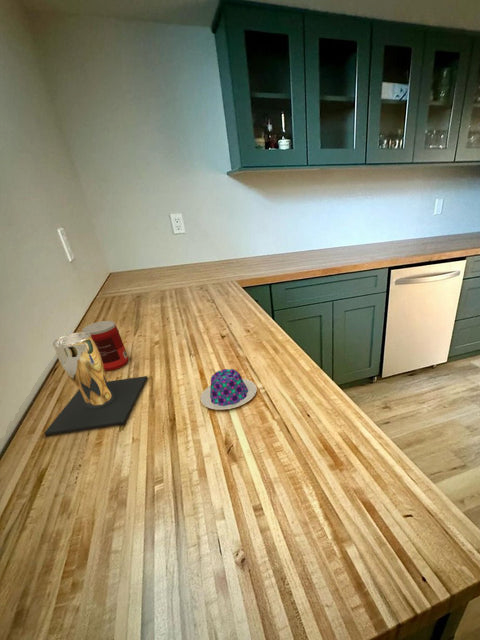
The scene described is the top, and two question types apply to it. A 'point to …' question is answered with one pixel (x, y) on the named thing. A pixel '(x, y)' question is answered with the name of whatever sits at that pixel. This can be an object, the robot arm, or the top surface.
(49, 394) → the top surface
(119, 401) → the place mat
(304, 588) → the top surface
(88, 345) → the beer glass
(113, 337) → the canned food
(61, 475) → the top surface
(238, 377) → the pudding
